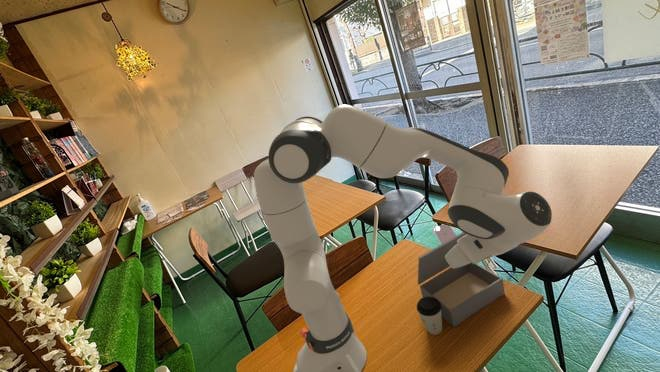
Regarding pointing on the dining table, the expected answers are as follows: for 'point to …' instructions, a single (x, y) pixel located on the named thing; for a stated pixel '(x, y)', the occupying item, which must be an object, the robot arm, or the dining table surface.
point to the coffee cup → (430, 314)
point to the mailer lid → (435, 260)
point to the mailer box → (463, 291)
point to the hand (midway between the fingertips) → (469, 251)
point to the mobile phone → (444, 233)
